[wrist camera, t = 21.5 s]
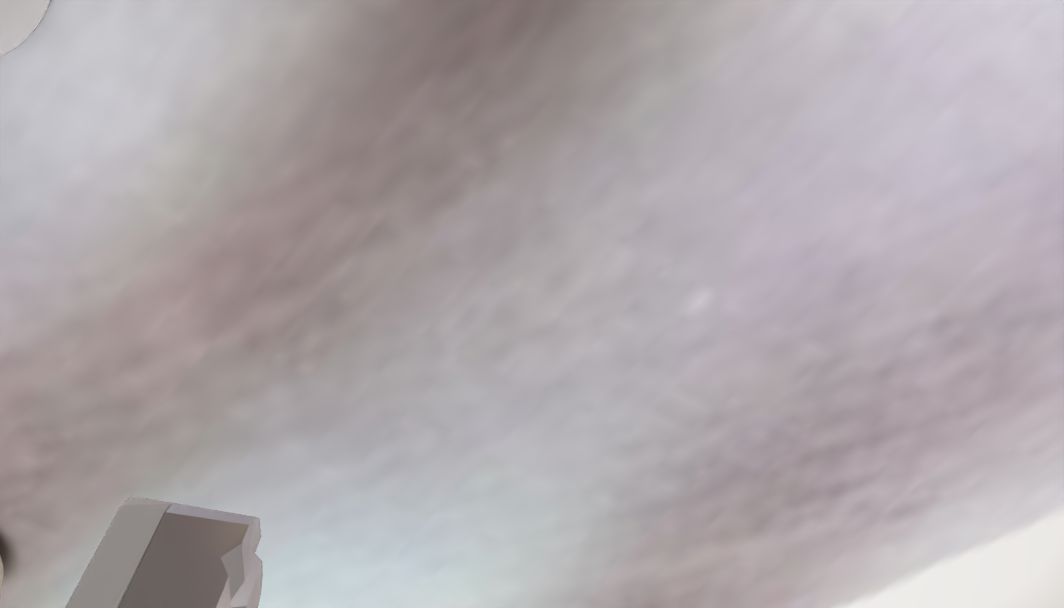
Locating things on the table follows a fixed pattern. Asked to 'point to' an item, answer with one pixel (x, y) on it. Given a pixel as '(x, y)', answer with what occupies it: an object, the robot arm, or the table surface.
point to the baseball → (1, 575)
